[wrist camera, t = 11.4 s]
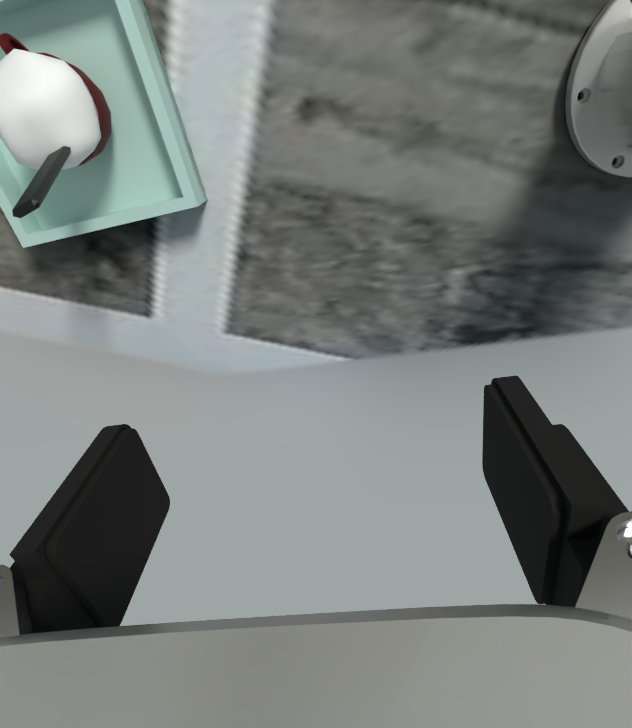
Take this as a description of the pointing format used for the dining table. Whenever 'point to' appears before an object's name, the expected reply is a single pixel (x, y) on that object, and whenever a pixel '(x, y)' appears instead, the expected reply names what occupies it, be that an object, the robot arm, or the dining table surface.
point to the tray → (128, 122)
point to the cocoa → (48, 117)
